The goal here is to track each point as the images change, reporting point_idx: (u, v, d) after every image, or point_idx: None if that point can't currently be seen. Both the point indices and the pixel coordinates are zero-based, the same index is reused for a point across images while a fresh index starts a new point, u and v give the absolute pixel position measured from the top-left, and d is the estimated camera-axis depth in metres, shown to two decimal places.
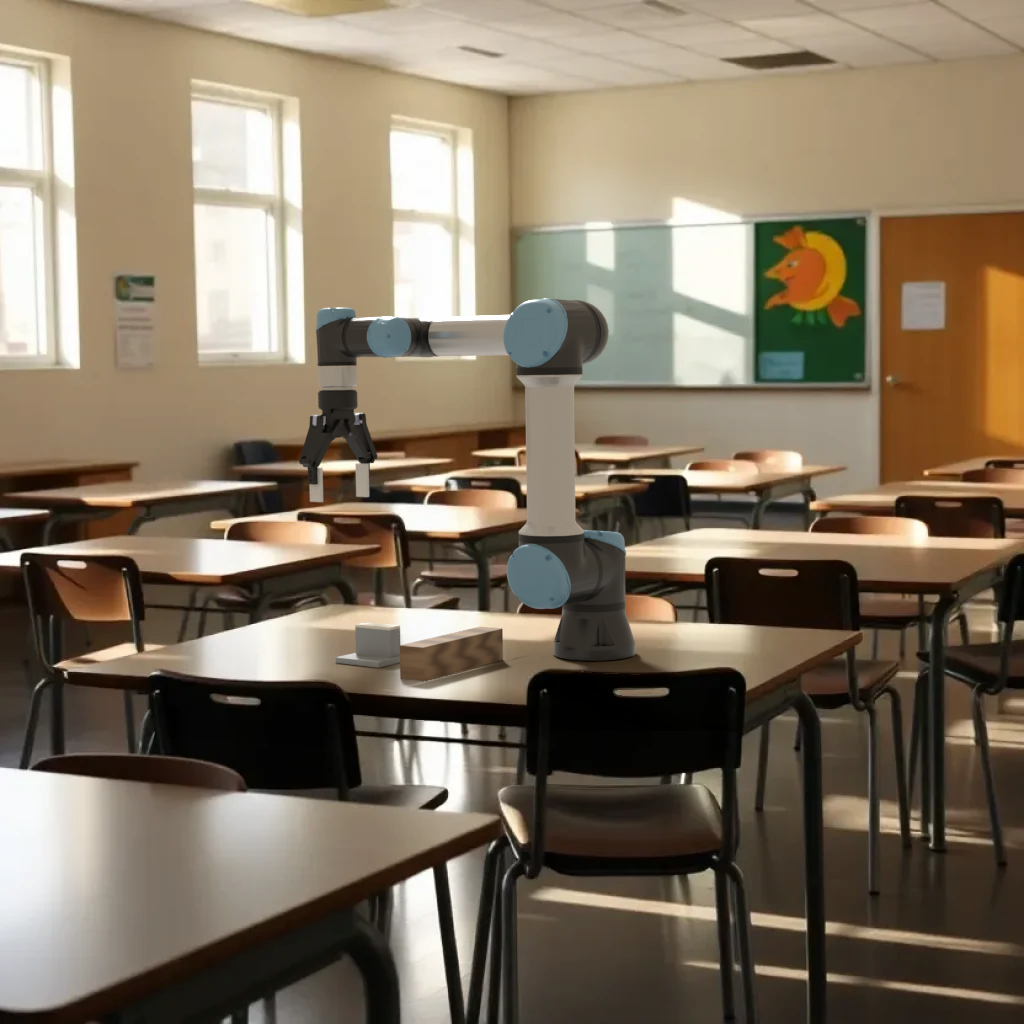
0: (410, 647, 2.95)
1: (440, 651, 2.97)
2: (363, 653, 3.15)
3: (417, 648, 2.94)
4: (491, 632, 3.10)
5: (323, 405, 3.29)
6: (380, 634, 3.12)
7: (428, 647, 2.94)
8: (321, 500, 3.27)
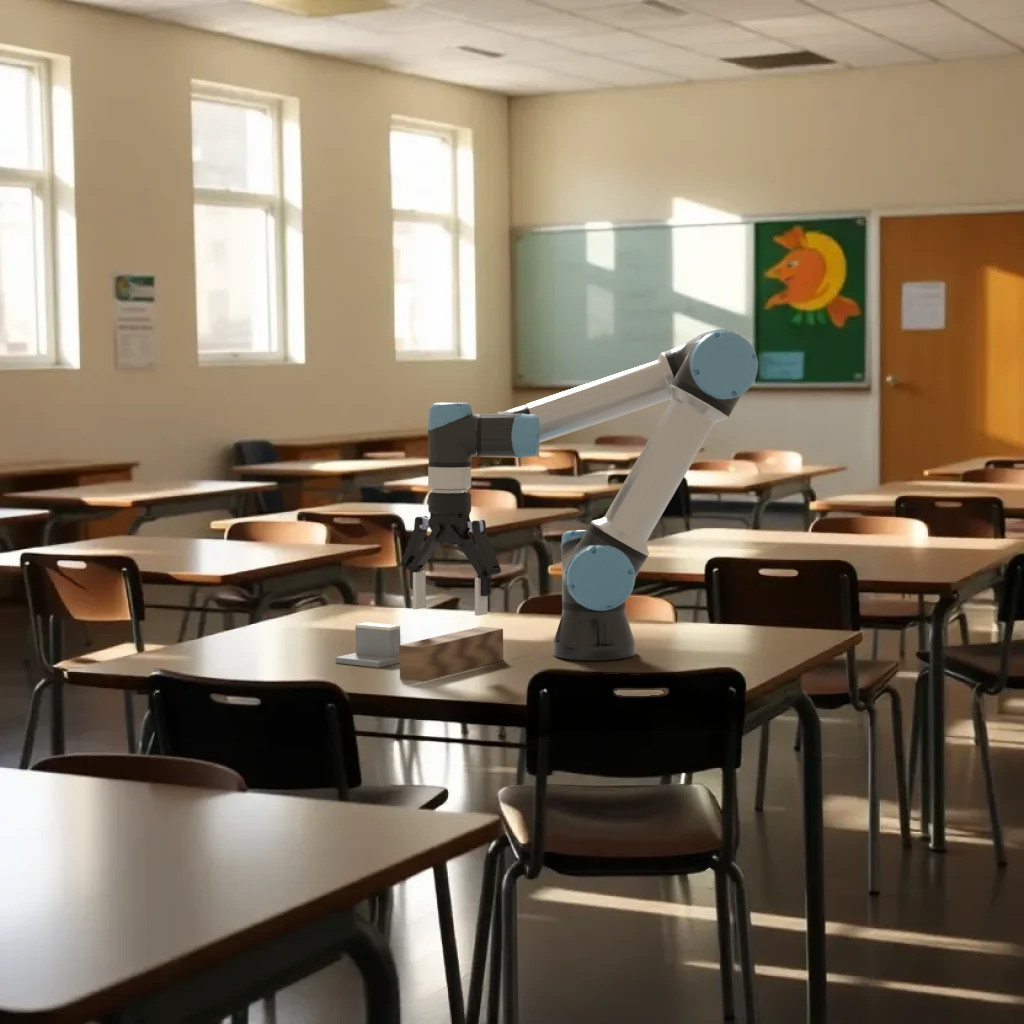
0: (409, 647, 2.95)
1: (440, 651, 2.97)
2: (363, 653, 3.15)
3: (416, 648, 2.94)
4: (491, 632, 3.10)
5: None
6: (380, 634, 3.12)
7: (427, 647, 2.94)
8: (414, 607, 3.07)
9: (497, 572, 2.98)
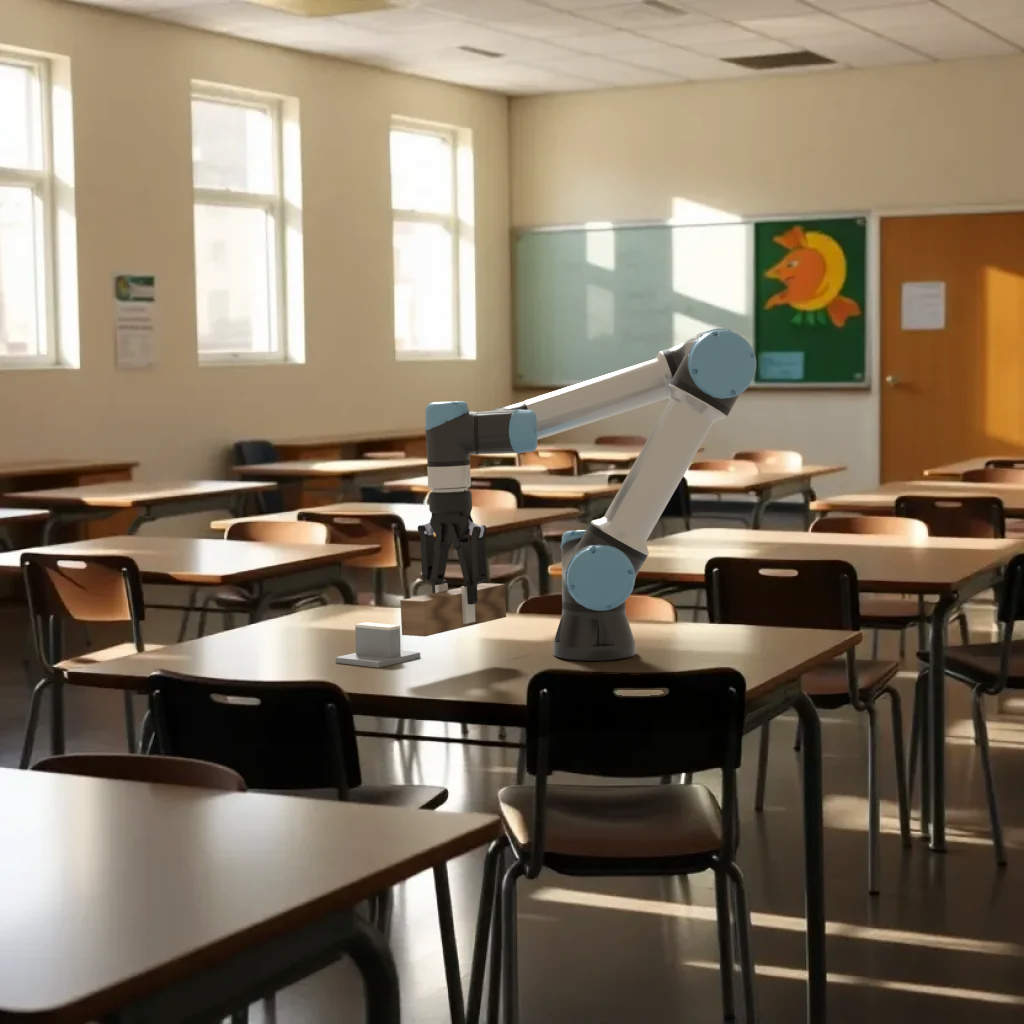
0: (411, 601, 2.94)
1: (441, 605, 2.97)
2: (363, 653, 3.15)
3: (418, 602, 2.93)
4: (493, 587, 3.09)
5: None
6: (380, 634, 3.12)
7: (429, 601, 2.94)
8: None
9: (483, 580, 3.00)
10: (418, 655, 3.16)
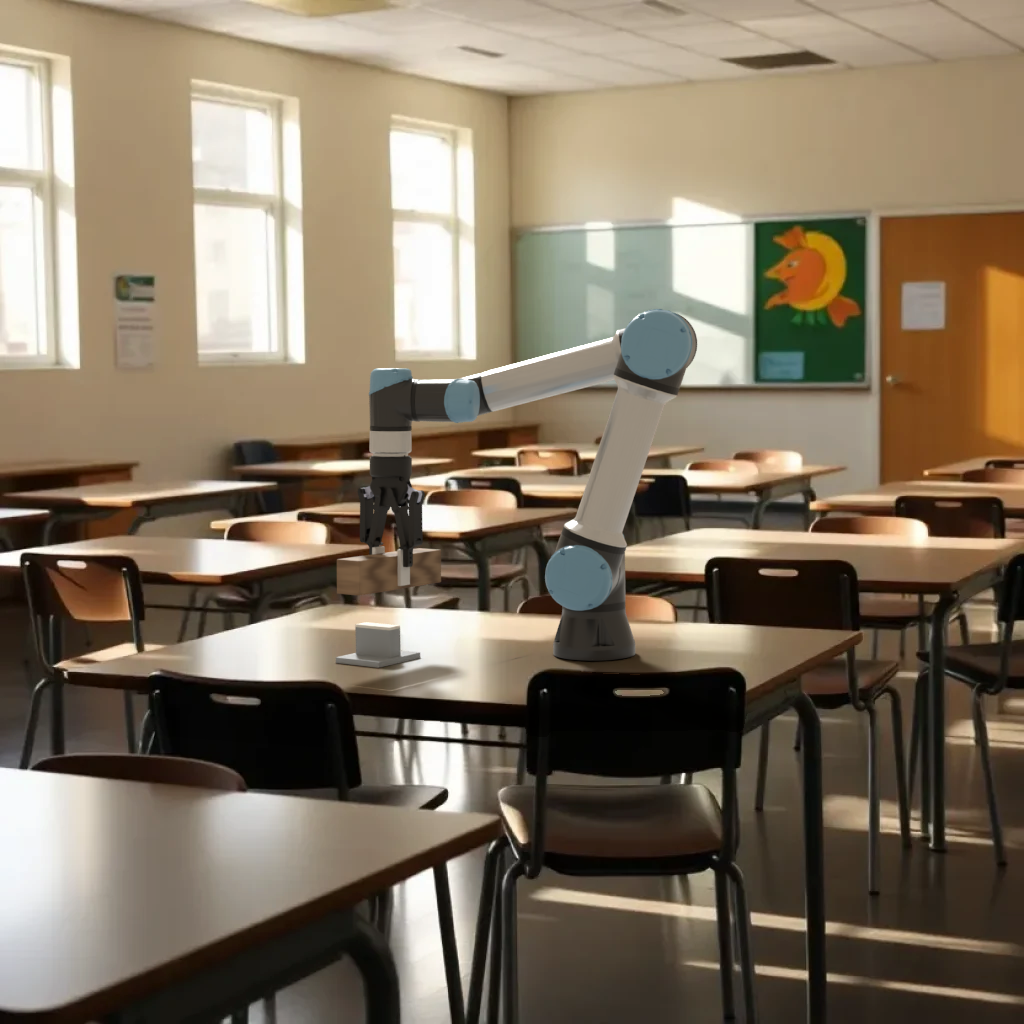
0: (347, 561, 3.01)
1: (376, 566, 3.03)
2: (363, 653, 3.15)
3: (353, 562, 3.00)
4: (429, 552, 3.16)
5: None
6: (380, 634, 3.12)
7: (364, 561, 3.00)
8: None
9: (419, 544, 3.07)
10: (418, 655, 3.16)
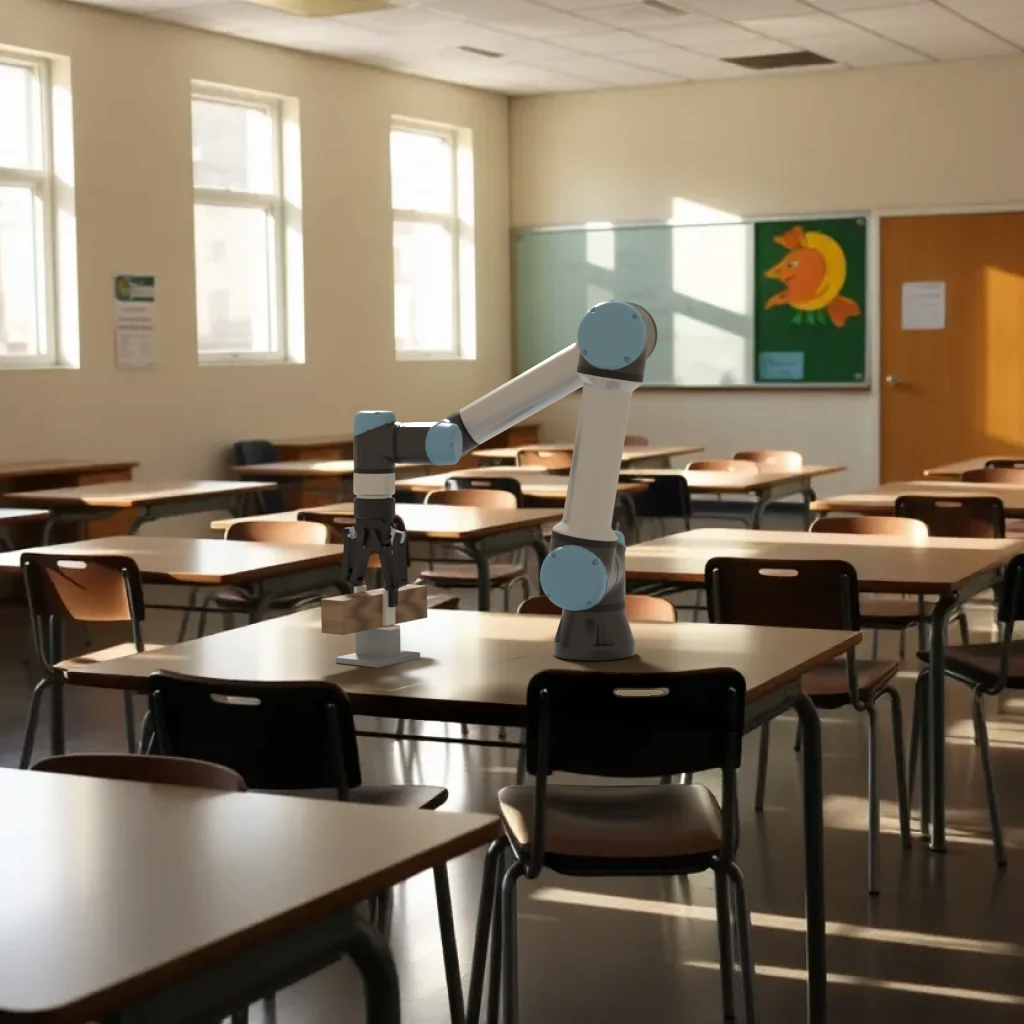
0: (330, 601, 3.04)
1: (361, 605, 3.06)
2: (363, 653, 3.15)
3: (337, 601, 3.03)
4: (415, 589, 3.19)
5: None
6: (380, 634, 3.12)
7: (348, 601, 3.03)
8: None
9: (404, 584, 3.10)
10: (418, 655, 3.16)
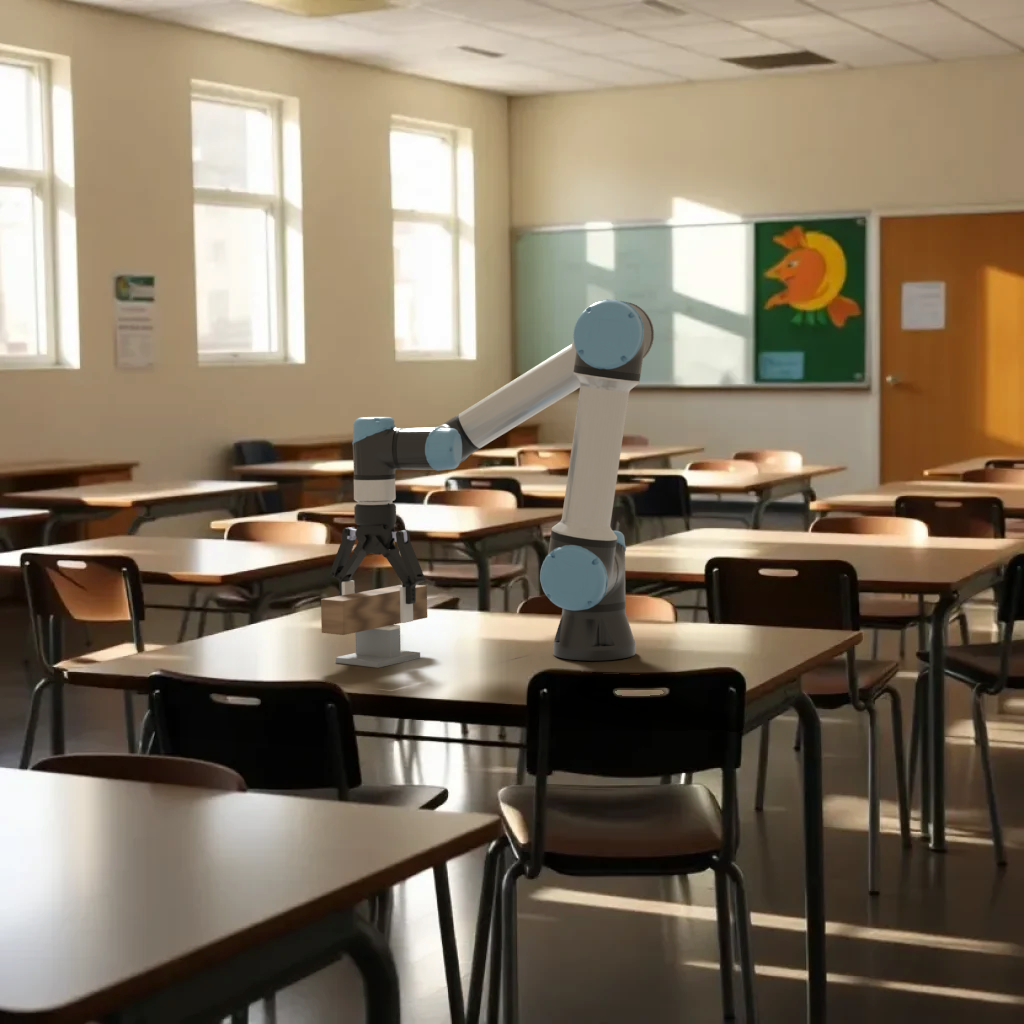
0: (330, 601, 3.04)
1: (360, 605, 3.06)
2: (363, 653, 3.15)
3: (337, 601, 3.03)
4: None
5: None
6: (380, 634, 3.12)
7: (348, 601, 3.03)
8: None
9: (421, 580, 3.08)
10: (418, 655, 3.16)
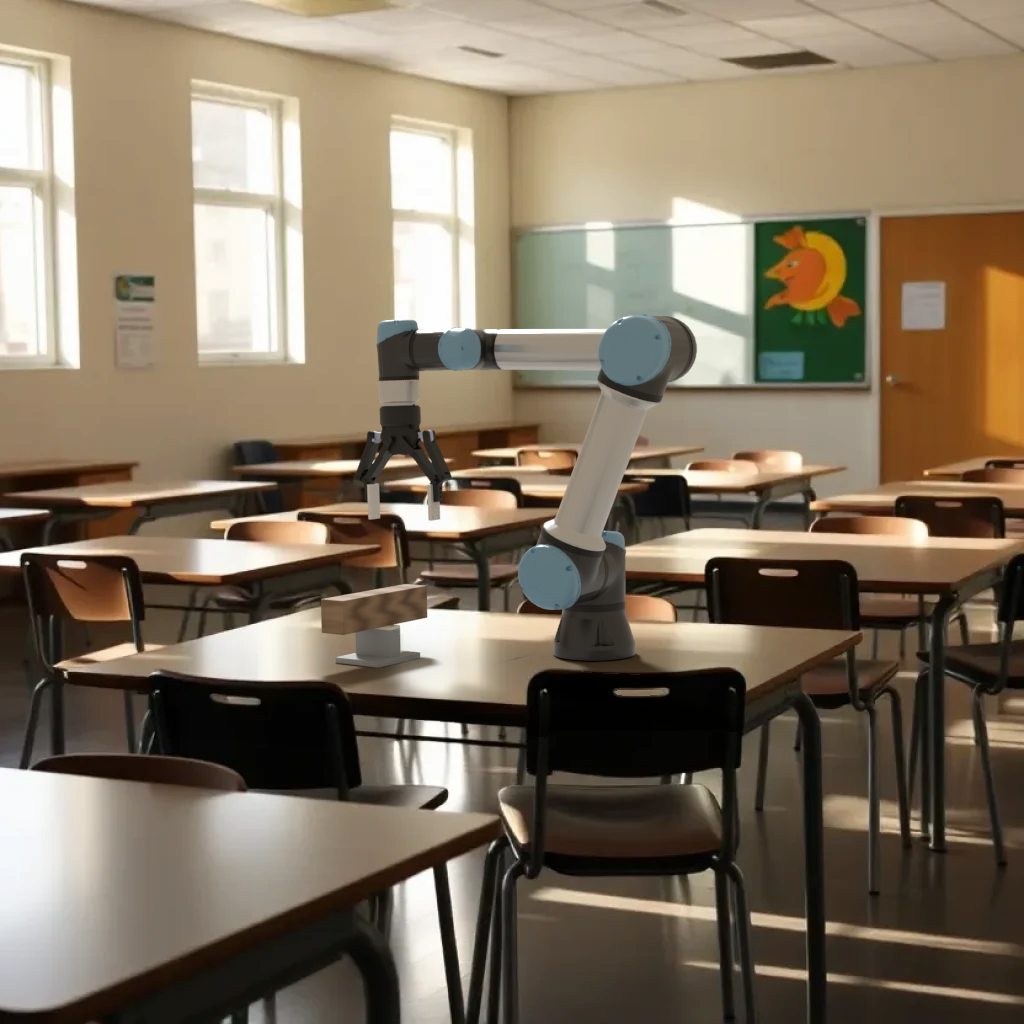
0: (330, 601, 3.04)
1: (360, 605, 3.06)
2: (363, 653, 3.15)
3: (337, 601, 3.03)
4: (415, 589, 3.19)
5: None
6: (380, 634, 3.12)
7: (348, 601, 3.03)
8: (369, 517, 3.22)
9: (448, 478, 3.14)
10: (418, 655, 3.16)
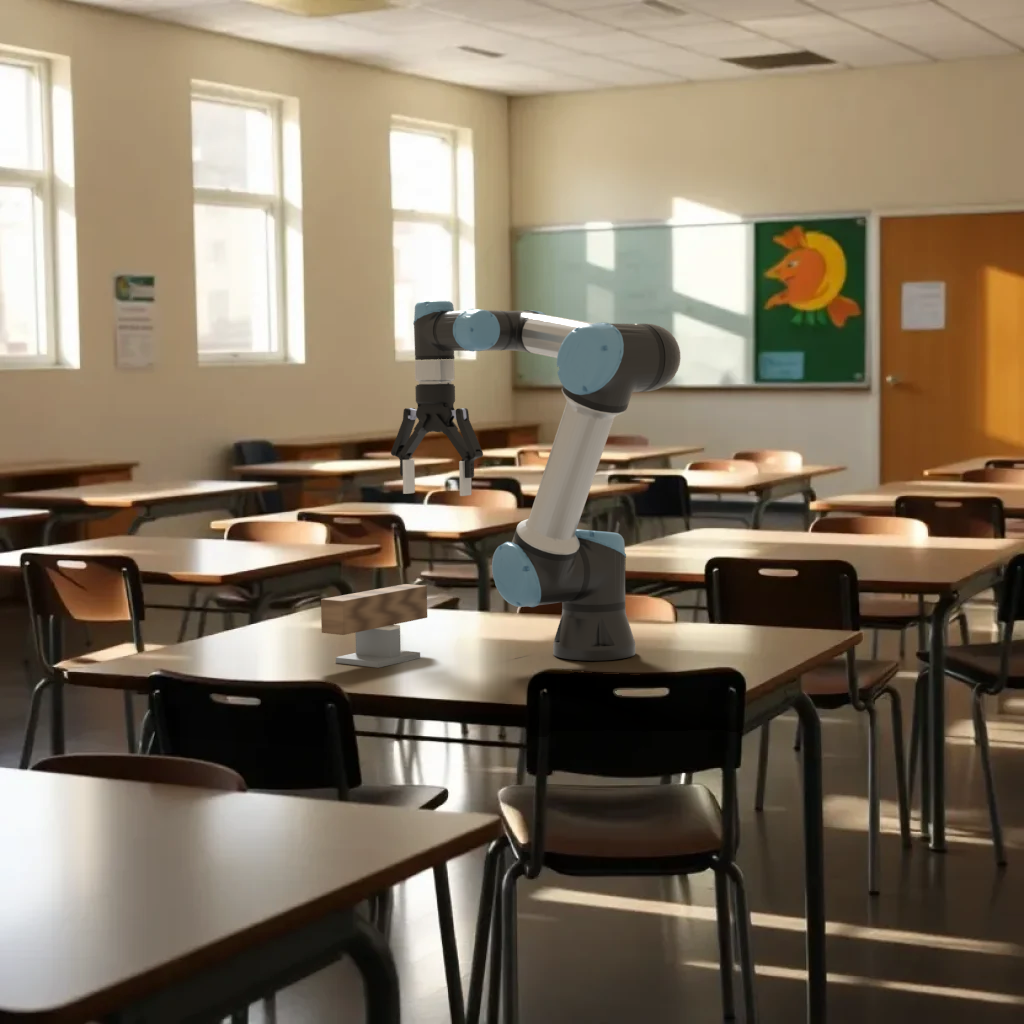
0: (330, 601, 3.04)
1: (360, 605, 3.06)
2: (363, 653, 3.15)
3: (337, 601, 3.03)
4: (415, 589, 3.19)
5: None
6: (380, 634, 3.12)
7: (348, 601, 3.03)
8: (404, 492, 3.33)
9: (479, 455, 3.24)
10: (418, 655, 3.16)
